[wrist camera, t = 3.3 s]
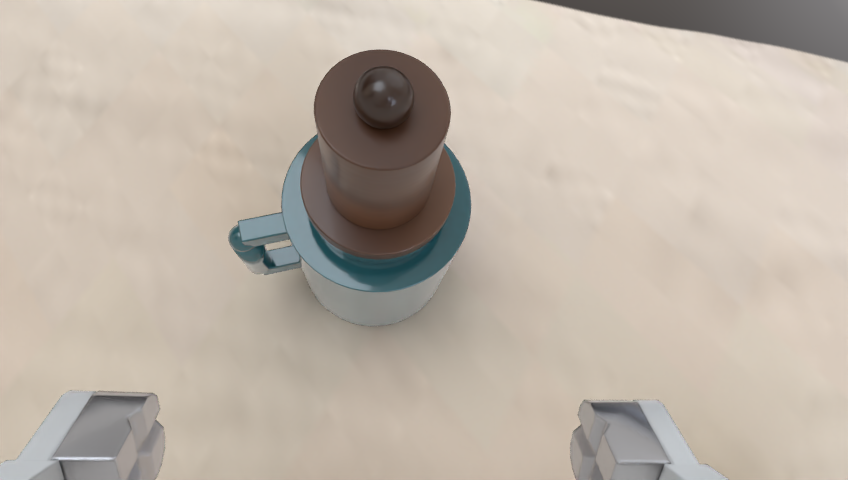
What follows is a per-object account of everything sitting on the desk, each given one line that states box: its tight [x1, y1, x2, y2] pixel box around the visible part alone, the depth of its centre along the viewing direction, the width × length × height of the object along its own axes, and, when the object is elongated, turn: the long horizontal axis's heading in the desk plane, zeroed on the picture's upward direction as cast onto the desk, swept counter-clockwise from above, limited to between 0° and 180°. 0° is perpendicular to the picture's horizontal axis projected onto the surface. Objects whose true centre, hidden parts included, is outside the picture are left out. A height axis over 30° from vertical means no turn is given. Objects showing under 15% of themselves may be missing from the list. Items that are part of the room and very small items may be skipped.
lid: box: [300, 50, 456, 260], centre depth 22 cm, size 7×7×9 cm
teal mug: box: [228, 134, 471, 326], centre depth 31 cm, size 12×9×12 cm
